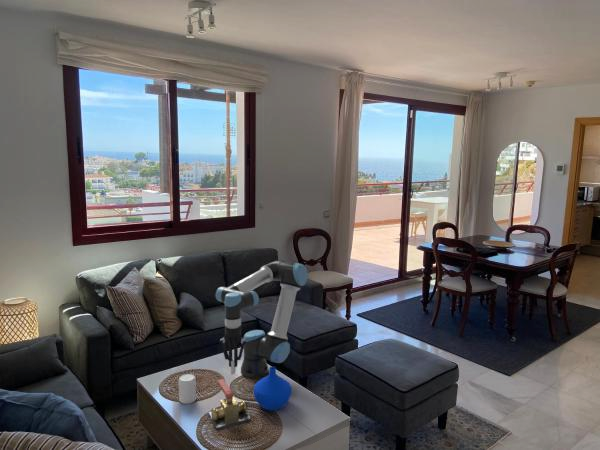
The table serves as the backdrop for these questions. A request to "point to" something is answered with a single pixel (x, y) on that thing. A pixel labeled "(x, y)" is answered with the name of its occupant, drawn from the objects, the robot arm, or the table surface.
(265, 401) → the vase
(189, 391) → the white cylindrical piece
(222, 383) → the lever
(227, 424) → the valve fixture
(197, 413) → the table surface
